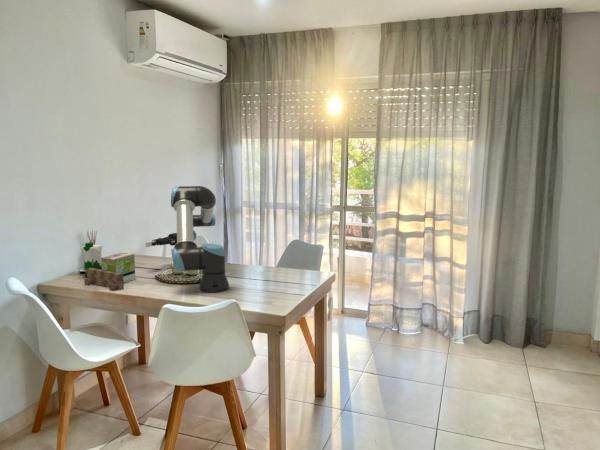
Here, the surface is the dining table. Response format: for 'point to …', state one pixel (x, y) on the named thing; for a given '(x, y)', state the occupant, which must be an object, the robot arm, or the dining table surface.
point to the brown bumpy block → (104, 279)
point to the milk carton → (92, 256)
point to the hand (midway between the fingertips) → (146, 244)
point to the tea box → (120, 265)
